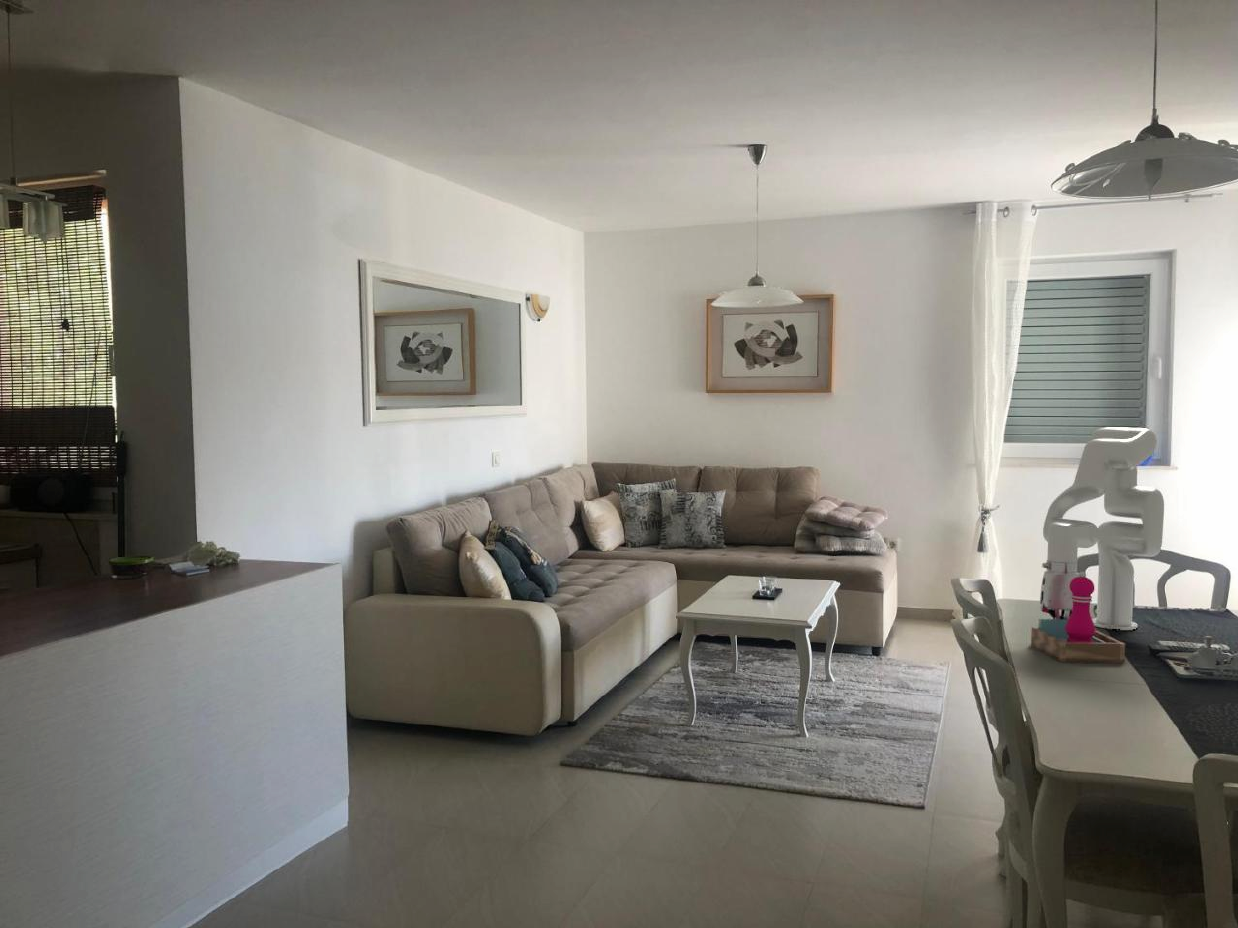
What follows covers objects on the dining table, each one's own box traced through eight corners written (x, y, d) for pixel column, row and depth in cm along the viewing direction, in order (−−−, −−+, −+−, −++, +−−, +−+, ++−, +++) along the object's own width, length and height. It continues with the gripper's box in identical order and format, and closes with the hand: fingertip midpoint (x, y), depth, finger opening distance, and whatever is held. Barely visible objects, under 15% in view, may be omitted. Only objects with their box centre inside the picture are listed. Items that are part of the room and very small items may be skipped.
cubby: (1031, 644, 272) (1031, 627, 272) (1090, 645, 272) (1091, 627, 272) (1060, 662, 254) (1061, 643, 254) (1124, 662, 254) (1125, 643, 254)
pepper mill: (1088, 643, 265) (1091, 569, 263) (1099, 649, 257) (1102, 574, 256) (1060, 642, 265) (1063, 568, 264) (1070, 648, 258) (1072, 573, 257)
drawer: (1037, 640, 272) (1038, 618, 271) (1085, 641, 272) (1086, 619, 271) (1063, 655, 256) (1064, 632, 255) (1114, 655, 256) (1115, 632, 255)
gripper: (1040, 569, 268) (1037, 636, 269) (1095, 570, 268) (1092, 636, 269) (1029, 564, 276) (1026, 629, 277) (1082, 565, 276) (1080, 630, 277)
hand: (1059, 633), depth 273 cm, fingers closed
